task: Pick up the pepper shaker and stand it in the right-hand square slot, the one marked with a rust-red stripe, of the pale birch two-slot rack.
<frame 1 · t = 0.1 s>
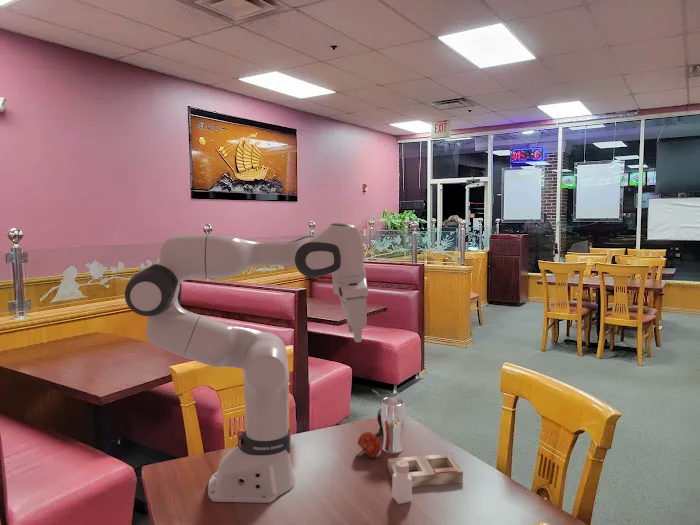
hand: (355, 336, 136), 39 cm above the table, tool pointing down, fingers open, 8 cm apart
mate gourd: (387, 433, 166), on the table
beer glass: (392, 449, 155), on the table
pepper shaker: (401, 500, 129), on the table
slot rack: (424, 475, 140), on the table
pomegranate: (368, 456, 151), on the table
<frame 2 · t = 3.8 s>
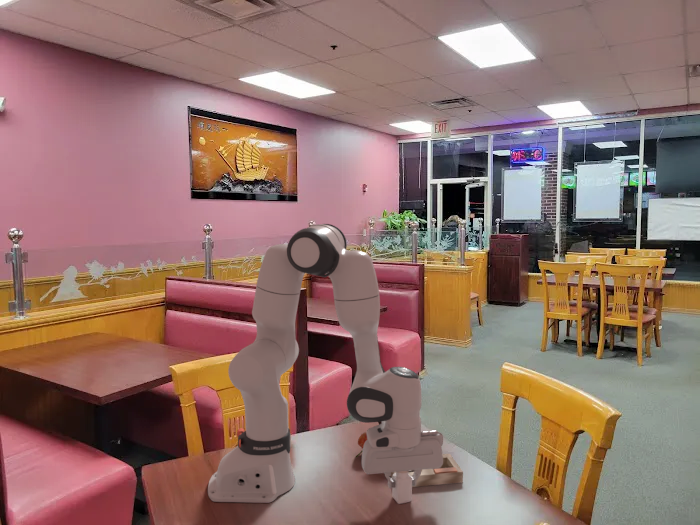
hand: (402, 485, 129), 4 cm above the table, tool pointing down, fingers closed on pepper shaker, 4 cm apart
pepper shaker: (401, 500, 129), on the table, touching gripper
everything else where it was.
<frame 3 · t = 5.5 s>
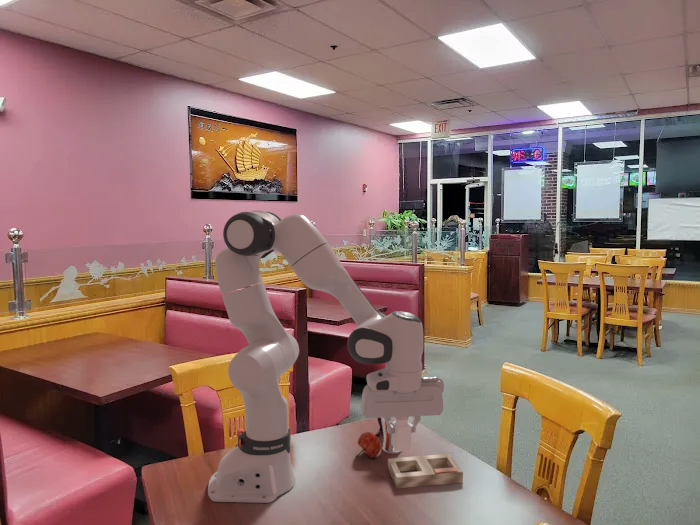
hand: (401, 432, 127), 18 cm above the table, tool pointing down, fingers closed on pepper shaker, 4 cm apart
pepper shaker: (400, 448, 128), point 13 cm above the table, touching gripper
everything else where it was.
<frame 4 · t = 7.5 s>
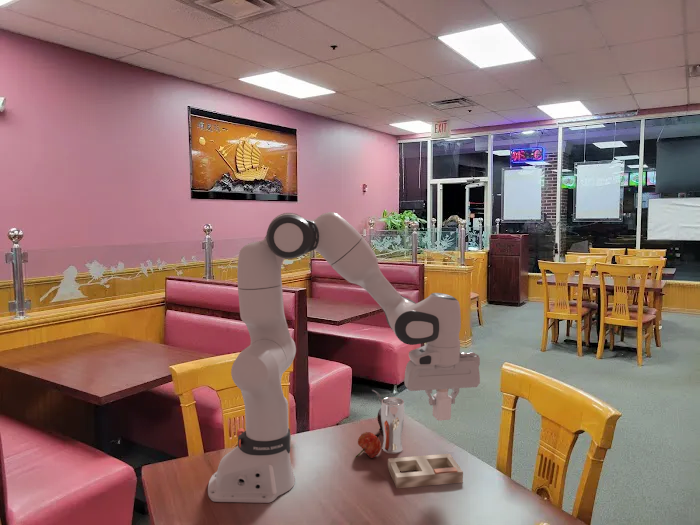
hand: (441, 403, 139), 20 cm above the table, tool pointing down, fingers closed on pepper shaker, 4 cm apart
pepper shaker: (441, 418, 139), point 16 cm above the table, touching gripper
everything else where it was.
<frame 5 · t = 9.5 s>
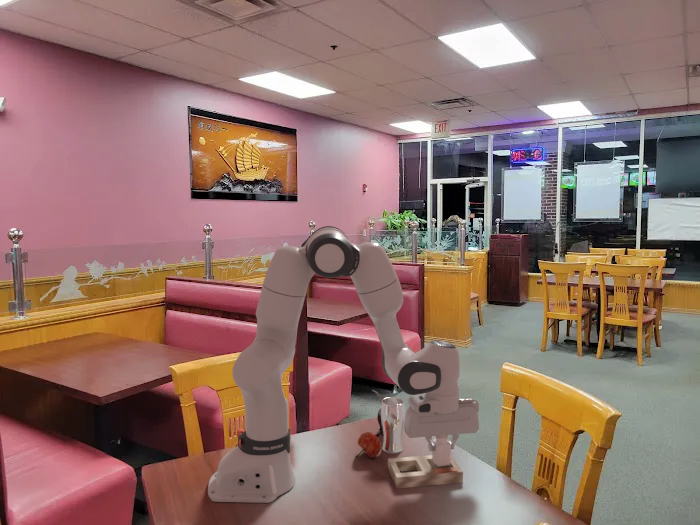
hand: (441, 449, 140), 7 cm above the table, tool pointing down, fingers closed on pepper shaker, 4 cm apart
pepper shaker: (441, 463, 141), point 3 cm above the table, touching gripper
everything else where it was.
when the fingers open (5 cm above the table, at t = 11.0 s): pepper shaker stays where it is, resting in slot rack.
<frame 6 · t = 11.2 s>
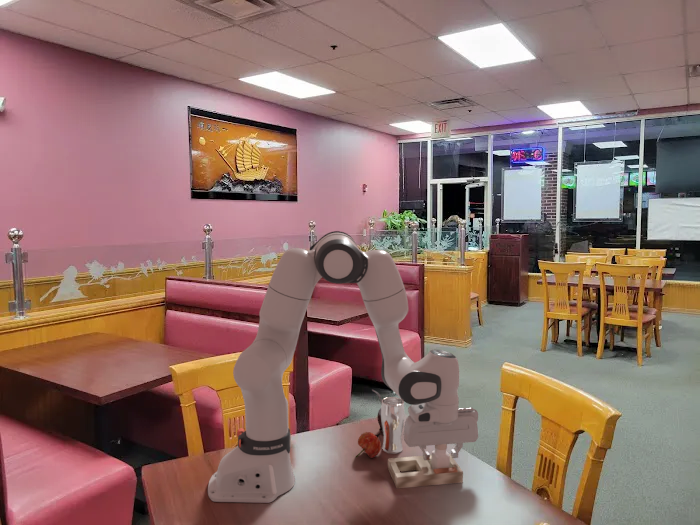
hand: (440, 458, 141), 5 cm above the table, tool pointing down, fingers open, 7 cm apart
pepper shaker: (440, 475, 141), resting in slot rack
everything else where it was.
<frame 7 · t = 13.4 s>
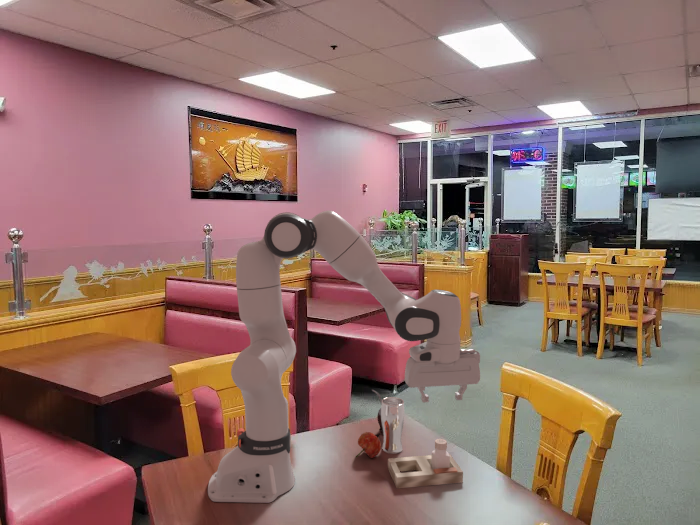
hand: (441, 400, 139), 21 cm above the table, tool pointing down, fingers open, 8 cm apart
nothing on the table moved.
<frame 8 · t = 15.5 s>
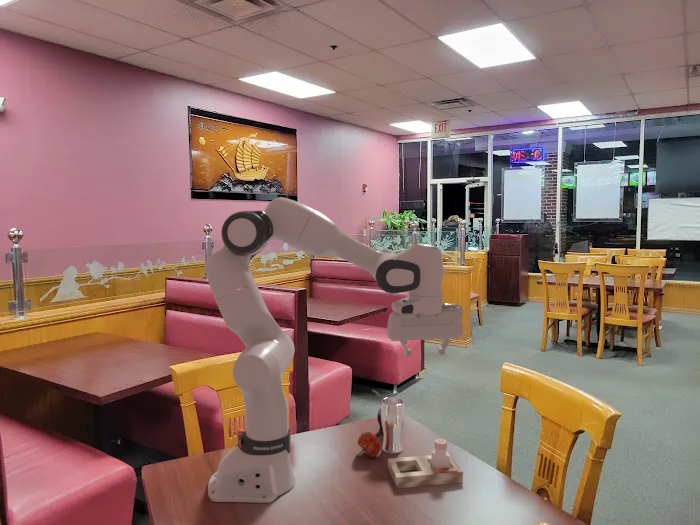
hand: (424, 355, 138), 33 cm above the table, tool pointing down, fingers open, 8 cm apart
nothing on the table moved.
at the end: pepper shaker 0.1 cm from the target spot on the slot rack, point 0.0 cm above the slot rack's base; pepper shaker tilted 0°; the gripper is holding nothing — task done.
